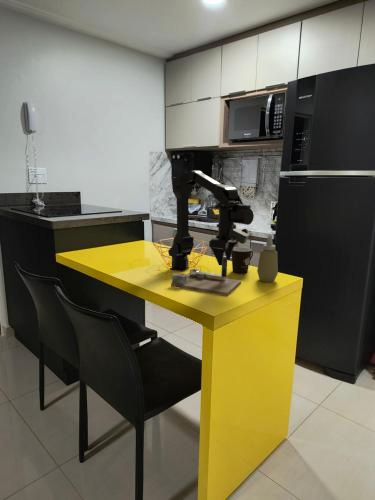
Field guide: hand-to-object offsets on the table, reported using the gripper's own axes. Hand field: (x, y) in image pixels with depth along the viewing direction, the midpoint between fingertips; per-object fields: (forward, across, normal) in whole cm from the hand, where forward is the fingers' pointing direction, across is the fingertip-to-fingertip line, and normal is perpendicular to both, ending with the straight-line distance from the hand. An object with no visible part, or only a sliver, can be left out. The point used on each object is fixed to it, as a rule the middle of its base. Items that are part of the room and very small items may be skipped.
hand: (224, 262), depth 128 cm
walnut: (+7, -8, +13) cm, 17 cm away
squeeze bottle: (+8, +12, -14) cm, 20 cm away
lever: (+7, -1, +7) cm, 9 cm away
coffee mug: (+8, +20, -2) cm, 22 cm away
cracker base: (+8, -5, +5) cm, 11 cm away
